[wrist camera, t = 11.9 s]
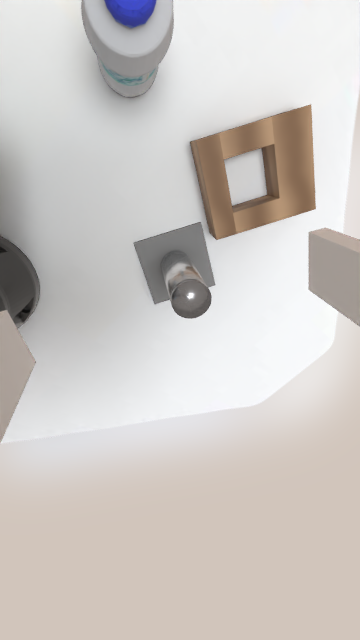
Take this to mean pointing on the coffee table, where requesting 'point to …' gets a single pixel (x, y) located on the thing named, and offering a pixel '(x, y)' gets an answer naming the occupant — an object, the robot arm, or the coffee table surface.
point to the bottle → (129, 40)
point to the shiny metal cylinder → (185, 285)
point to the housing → (280, 172)
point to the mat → (176, 240)
